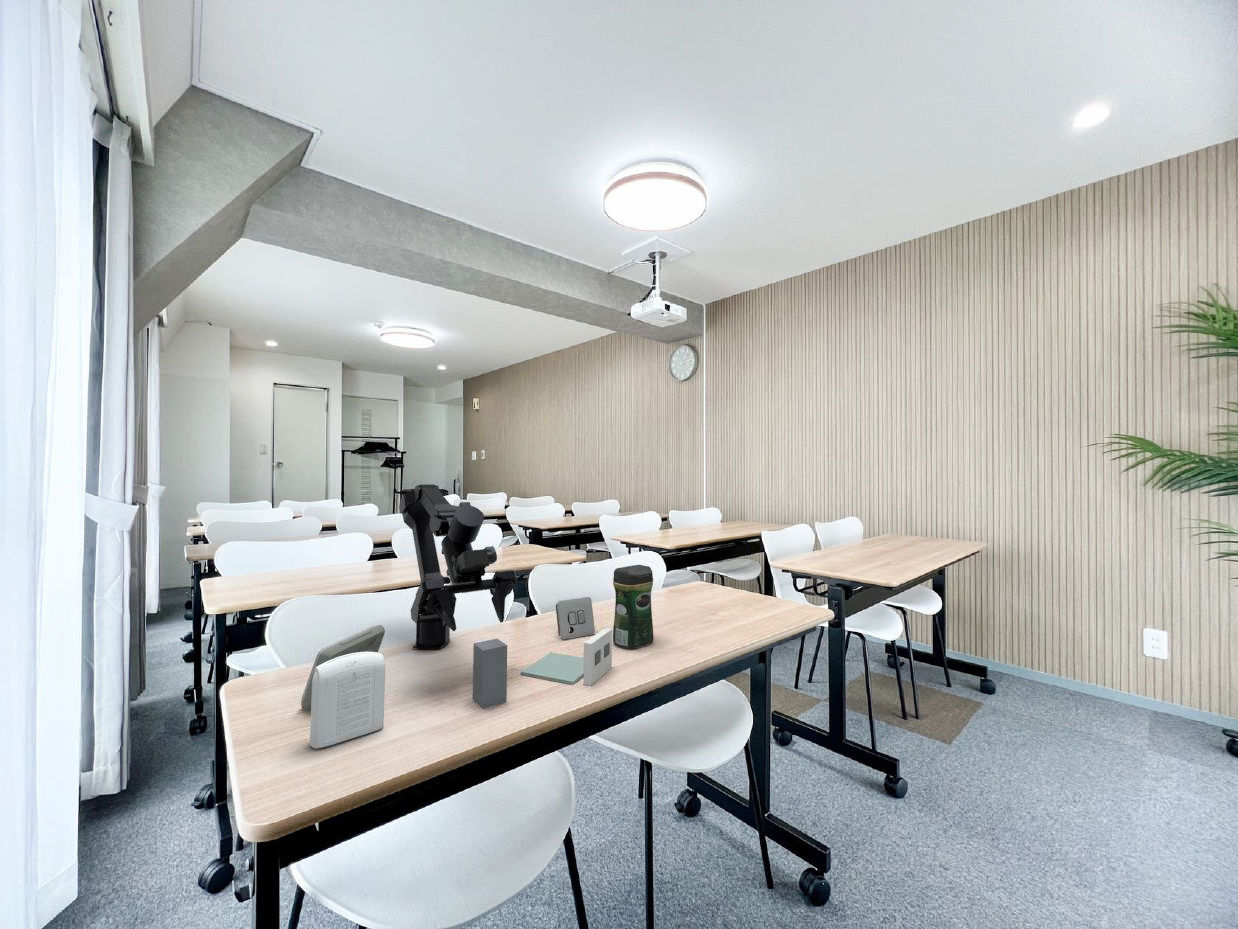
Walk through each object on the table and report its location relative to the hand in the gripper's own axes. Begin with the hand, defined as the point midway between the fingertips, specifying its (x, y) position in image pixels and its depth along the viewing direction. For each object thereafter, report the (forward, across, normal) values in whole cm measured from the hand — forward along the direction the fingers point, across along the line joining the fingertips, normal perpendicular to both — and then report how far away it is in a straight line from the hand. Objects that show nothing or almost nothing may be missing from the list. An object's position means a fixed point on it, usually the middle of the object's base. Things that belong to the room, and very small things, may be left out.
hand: (479, 625), depth 94 cm
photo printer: (+12, -22, +6) cm, 26 cm away
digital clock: (0, -20, +18) cm, 27 cm away
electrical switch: (-4, +31, +21) cm, 38 cm away
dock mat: (+8, +18, +8) cm, 21 cm away
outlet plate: (+14, +22, +3) cm, 26 cm away
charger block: (+12, 0, +5) cm, 13 cm away
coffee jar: (+6, +40, +11) cm, 42 cm away
